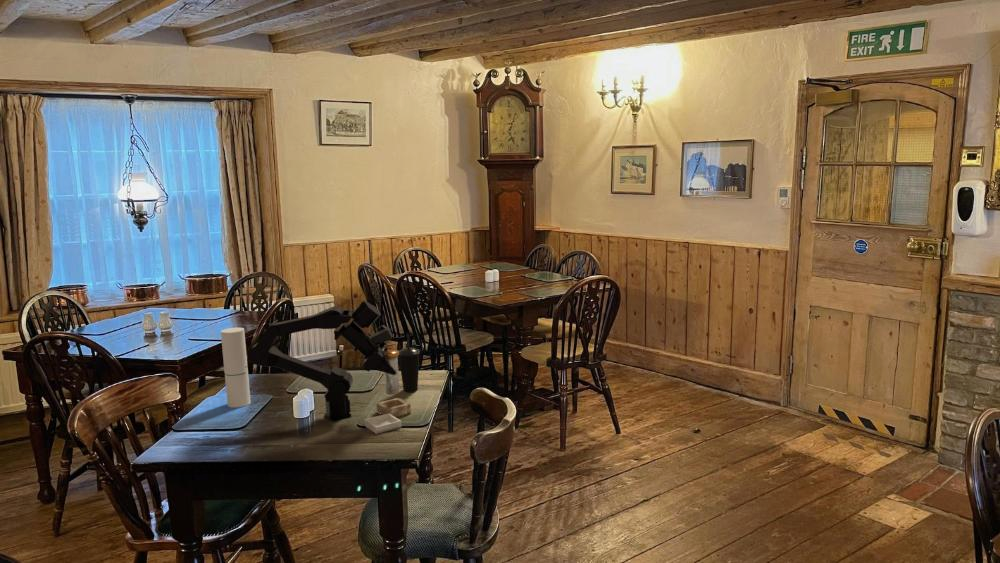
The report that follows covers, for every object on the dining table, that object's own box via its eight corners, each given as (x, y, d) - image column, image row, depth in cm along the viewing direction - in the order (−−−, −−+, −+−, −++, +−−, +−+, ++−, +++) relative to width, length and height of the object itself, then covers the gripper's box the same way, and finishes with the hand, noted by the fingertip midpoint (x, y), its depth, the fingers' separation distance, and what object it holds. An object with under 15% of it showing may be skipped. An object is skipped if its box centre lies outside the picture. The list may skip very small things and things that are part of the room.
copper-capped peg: (388, 396, 217) (386, 355, 215) (381, 391, 221) (379, 351, 219) (403, 393, 220) (401, 352, 218) (396, 388, 224) (394, 349, 222)
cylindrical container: (254, 400, 238) (248, 327, 233) (244, 407, 231) (238, 332, 226) (233, 400, 238) (227, 327, 234) (223, 407, 231) (216, 332, 227)
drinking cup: (420, 393, 241) (417, 336, 237) (397, 393, 241) (394, 336, 237) (423, 386, 248) (420, 330, 245) (401, 386, 248) (398, 330, 245)
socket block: (388, 419, 217) (387, 409, 217) (376, 412, 224) (376, 403, 223) (410, 413, 222) (410, 404, 221) (399, 406, 228) (398, 397, 227)
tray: (376, 433, 206) (376, 427, 205) (364, 425, 212) (363, 419, 212) (401, 427, 210) (401, 420, 210) (389, 419, 217) (388, 413, 217)
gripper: (372, 326, 207) (412, 361, 210) (379, 313, 226) (415, 345, 228) (346, 353, 208) (386, 388, 211) (355, 338, 227) (392, 370, 229)
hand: (396, 371), depth 220 cm, fingers closed on copper-capped peg, 4 cm apart
